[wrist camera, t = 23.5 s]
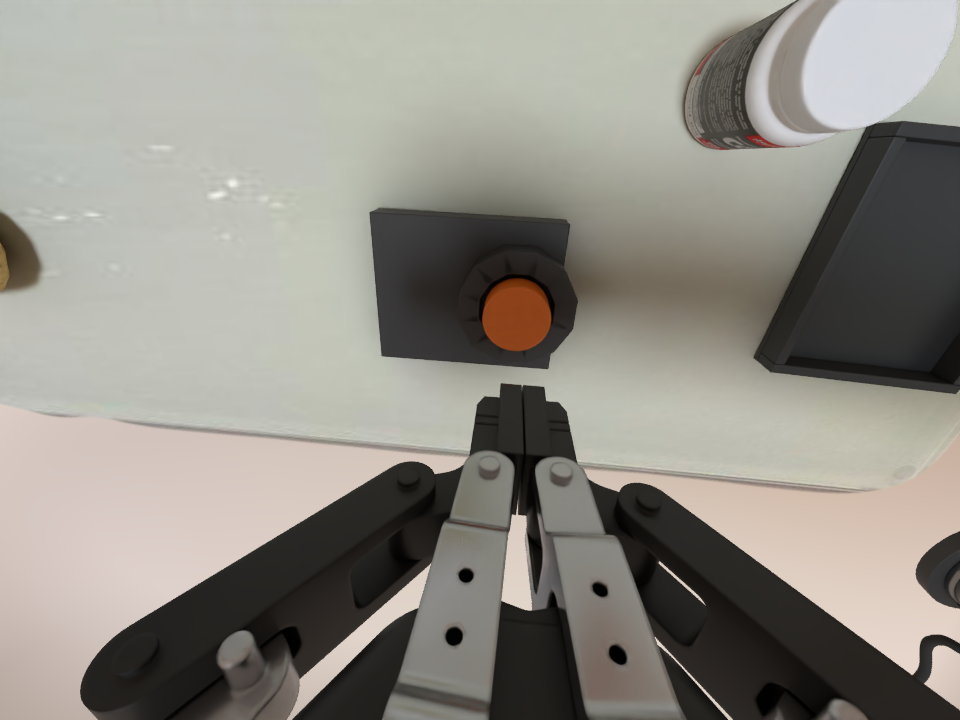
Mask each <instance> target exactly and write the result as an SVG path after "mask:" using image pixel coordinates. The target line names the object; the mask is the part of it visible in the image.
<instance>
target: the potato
mask: <svg viewBox="0 0 960 720" xmlns="http://www.w3.org/2000/svg"><path fill="white" fill-rule="evenodd" d="M9 276H10V274H9V270H8V265H7V261H6V251H5V250H4V248H3V246H2V245H1V243H0V291H2V290H3V289H4V288H5V286H6V284H7V281H8V279H9Z"/></svg>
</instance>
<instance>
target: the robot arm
mask: <svg viewBox="0 0 960 720" xmlns="http://www.w3.org/2000/svg"><path fill="white" fill-rule="evenodd" d="M517 502H518V515H525V516H527V528H526V535H525V546H526V554H527V563H528V572H529V581H530V590H531V599H532V611H527V610H523V609H520V608H518V607H515V606H513V605H510V604H507V603H505V602H502V601H501V598H502V588H503V578H504V569H505V559H506V549H507V540H508V533H509V530H510V525H511V517H512V514H513V515H516V510H517ZM659 561H660V562H661V563H663V564H664V565H665V566H666V567H667V568H668V569H669V570H671V571H672V572H673V573H674V574H675V575H676V576H677V577H678V578H679V579H681V580H682V581H683V582H684V583H685V584H686V585H687V586H689V587H690V588H691V589H692V590H693V591H694V592H695V593H696V594H698V595H699V597H700V598H701V599H702V600H703V602H704V603H705V605H706V606H705V605H704V604H703V603H702V602H701V601H700V600H698V598H696V597H695V596H694V595H693V594H692V593H691V592H690V591H688V590H687V589H686V588H685V587H684V586H683V585H682V584H681V583H680V582H678V581H677V580H676V579H675V578H674V577H673V576H672V575H671V574H670V573H668V572H667V571H666V570H665V569H664V568H663V567H662V566H660V564H658V563H659ZM431 562H432V563H431ZM430 563H431V566H430V570H429V573H428V577H427V580H426V584H425V588H424V591H423V594H422V598H421V601H420V605H419V608H417V609H415V610H413V611H410V612H408V613H406V614H404V615H403V616H401V617H399V618H398V619H396V620H395V621H394V622H392V623H391V624H389V625H388V626H387V627H386V628H385V629H383V630H382V631H381V632H380V633H379V634H378V635H377V636H376V637H375V638H374V639H373V640H372V641H371V642H370V643H369V644H368V645H367V646H366V647H365V648H364V649H363V650H362V651H361V652H360V653H359V654H358V655H357V656H356V657H355V658H354V659H353V660H352V661H351V662H350V663H349V664H348V665H347V666H346V667H345V668H344V669H343V670H342V671H341V672H340V673H339V674H338V675H337V676H336V677H335V678H334V679H333V680H332V681H331V682H330V683H329V684H328V685H327V686H326V687H325V688H324V689H323V690H322V691H320V693H318V694H317V695H316V696H315V697H314V698H313V700H311V701H310V702H309V703H308V704H307V705H306V706H305V708H303V709H302V710H301V711H300V712H299V714H297V715H296V716H295V717H294V718H293V719H292V720H728V719H727V718H726V717H725V716H724V714H723V713H722V712H721V711H720V710H719V709H718V708H717V707H716V705H715V704H714V703H713V702H712V701H711V700H710V699H709V698H708V697H707V695H706V694H705V693H704V692H703V691H702V690H701V689H700V688H699V686H698V685H697V684H696V683H695V682H694V681H693V680H692V679H691V678H690V677H689V676H688V674H687V673H686V672H685V671H684V670H683V669H682V667H681V666H679V664H678V663H677V662H676V661H675V660H674V659H673V658H672V657H671V656H669V654H668V653H666V652H665V651H664V650H663V649H662V648H661V647H659V646H658V645H657V642H656V639H655V637H656V638H657V639H658V640H659V642H660V643H661V644H662V645H663V646H665V648H666V649H667V650H668V651H669V652H670V653H671V654H672V655H673V656H674V657H675V658H676V660H677V661H678V662H679V663H680V664H681V665H682V666H683V667H684V668H685V669H686V670H687V671H688V672H689V673H690V674H691V675H692V676H693V678H694V679H695V680H696V681H697V682H698V683H699V684H700V685H701V686H702V687H703V688H704V689H705V690H706V691H707V692H708V693H709V694H710V696H712V698H713V699H714V700H715V701H716V702H717V703H718V704H719V705H720V706H721V707H722V708H723V709H724V710H725V711H726V712H727V713H728V715H729V716H730V717H731V718H732V719H733V720H960V711H959V709H957V708H956V707H954V706H953V705H952V704H950V703H949V702H948V701H946V700H945V699H944V698H942V697H941V696H940V695H938V694H937V693H935V692H934V691H933V690H931V689H930V688H929V687H927V686H926V685H925V684H924V683H925V682H926V681H927V680H928V678H929V676H930V674H931V669H932V651H933V649H934V647H936V646H938V645H944V646H947V647H949V648H951V649H953V650H954V651H956V652H957V653H959V654H960V644H959V643H958V642H956V641H954V640H952V639H951V638H949V637H946V636H943V635H930V636H926V637H924V638H923V639H922V641H921V644H920V663H919V667H918V669H917V671H916V672H915V673H914V674H913V675H911V674H910V673H908V672H907V671H906V670H904V669H903V668H901V667H900V666H899V665H897V664H896V663H895V662H893V661H892V660H891V659H889V658H888V657H886V656H885V655H884V654H882V653H881V652H880V651H878V650H877V649H876V648H874V647H873V646H872V645H870V644H869V643H867V642H866V641H865V640H863V639H862V638H861V637H859V636H858V635H857V634H855V633H854V632H853V631H851V630H850V629H848V628H847V627H846V626H844V625H843V624H842V623H840V622H839V621H838V620H836V619H835V618H834V617H832V616H831V615H829V614H828V613H827V612H825V611H824V610H823V609H821V608H820V607H819V606H817V605H816V604H815V603H813V602H812V601H810V600H809V599H808V598H806V597H805V596H804V595H802V594H801V593H800V592H798V591H797V590H796V589H794V588H792V587H791V586H790V585H789V584H787V583H786V582H785V581H783V580H782V579H780V578H779V577H778V576H776V575H775V574H774V573H772V572H771V571H770V570H768V569H767V568H766V567H764V566H763V565H762V564H760V563H759V562H757V561H756V560H755V559H753V558H752V557H751V556H749V555H748V554H747V553H745V552H744V551H743V550H741V549H740V548H738V547H737V546H736V545H734V544H733V543H732V542H730V541H729V540H728V539H726V538H725V537H724V536H722V535H721V534H719V533H718V532H717V531H715V530H714V529H712V528H711V527H710V526H709V525H707V524H706V523H705V522H703V521H702V520H700V519H699V518H698V517H696V516H695V515H694V514H692V513H691V512H689V511H688V510H687V509H685V508H684V507H683V506H681V505H680V504H679V503H677V502H676V501H675V500H673V499H672V498H670V497H669V496H668V495H666V494H665V493H664V492H662V491H661V490H659V489H657V488H655V487H653V486H651V485H647V484H643V483H630V484H627V485H625V486H623V487H622V488H621V490H620V492H617V491H614V490H611V489H608V488H605V487H602V486H600V485H598V484H595V483H594V482H592V481H590V480H589V479H588V478H587V476H586V473H585V471H584V470H583V468H582V467H581V466H580V465H578V464H577V460H576V455H575V450H574V445H573V440H572V436H571V432H570V426H569V421H568V416H567V412H566V411H565V409H564V408H563V407H562V406H561V405H560V403H559V402H548V401H546V397H545V389H544V387H539V386H527V385H523V387H522V386H521V385H513V384H501V386H500V398H498V397H486V396H485V397H484V398H483V399H482V400H481V401H480V402H479V403H478V404H477V410H476V416H475V424H474V430H473V436H472V443H471V449H470V455H469V457H468V458H467V459H466V461H465V463H464V465H462V466H461V467H460V468H458V469H456V470H453V471H450V472H446V473H440V474H434V472H433V470H432V469H431V468H430V467H428V466H427V465H425V464H423V463H419V462H404V463H400V464H397V465H395V466H393V467H391V468H389V469H388V470H386V471H385V472H383V473H381V474H380V475H378V476H376V477H375V478H373V479H371V480H370V481H368V482H366V483H365V484H363V485H361V486H360V487H358V488H356V489H355V490H353V491H351V492H350V493H348V494H347V495H345V496H343V497H342V498H340V499H338V500H337V501H335V502H333V503H332V504H330V505H328V506H327V507H325V508H323V509H322V510H320V511H319V512H317V513H315V514H314V515H312V516H310V517H309V518H307V519H305V520H304V521H302V522H300V523H299V524H297V525H295V526H294V527H292V528H290V529H289V530H287V531H286V532H284V533H282V534H280V535H279V536H277V537H276V538H274V539H272V540H271V541H269V542H267V543H266V544H264V545H262V546H261V547H259V548H257V549H256V550H254V551H252V552H251V553H249V554H248V555H246V556H244V557H243V558H241V559H239V560H238V561H236V562H234V563H233V564H231V565H229V566H228V567H226V568H224V569H223V570H221V571H219V572H218V573H216V574H215V575H213V576H211V577H209V578H208V579H206V580H205V581H203V582H201V583H200V584H198V585H197V586H195V587H193V588H191V589H190V590H188V591H186V592H185V593H183V594H182V595H180V596H178V597H176V598H175V599H173V600H172V601H170V602H168V603H167V604H165V605H164V606H162V607H160V608H158V609H157V610H155V611H154V612H152V613H150V614H148V615H147V616H145V617H144V618H142V619H140V620H139V621H137V622H135V623H134V624H132V625H130V626H129V627H127V628H126V629H124V630H123V631H121V632H120V633H119V634H117V635H116V636H115V637H114V638H113V639H111V640H110V641H109V642H108V643H107V644H106V645H105V646H104V647H103V648H102V649H101V651H100V652H99V653H98V654H97V655H96V657H95V658H94V659H93V660H92V662H91V664H90V665H89V667H88V668H87V670H86V672H85V675H84V677H83V680H82V683H81V689H80V694H81V700H82V701H83V704H84V705H85V706H86V707H87V708H88V709H89V710H90V711H91V712H92V714H93V715H94V716H95V717H96V718H97V719H98V720H287V718H288V716H289V715H290V713H291V711H292V710H293V707H294V705H295V703H296V700H297V697H298V693H299V686H300V685H299V679H300V678H301V677H302V676H304V674H306V673H307V672H308V671H309V670H310V669H312V668H313V667H314V666H315V665H316V664H317V663H318V662H319V661H320V660H322V659H323V658H324V657H325V656H326V655H327V654H328V653H330V652H331V651H332V650H333V649H334V648H335V647H337V646H338V645H339V644H340V643H341V642H342V641H343V640H345V639H346V638H347V637H348V636H349V635H350V634H351V633H352V632H354V631H355V630H356V629H357V628H358V627H359V626H360V625H362V624H363V623H364V622H365V621H366V620H367V619H368V618H369V617H371V616H372V615H373V614H374V613H375V612H376V611H377V610H379V609H380V608H381V607H382V606H383V605H384V604H385V603H387V602H388V601H389V600H390V599H391V598H392V597H393V596H394V595H396V594H397V593H398V592H399V591H400V590H401V589H402V588H404V587H405V586H406V585H407V584H408V583H409V582H410V581H412V580H413V579H414V578H415V577H416V576H417V575H418V574H419V573H421V572H422V571H423V570H424V569H425V568H426V567H427V566H429V565H430ZM944 587H945V590H946V591H947V593H948V594H949V595H950V596H951V597H952V598H953V599H954V600H955V601H956V602H957V605H958V606H959V607H960V562H959V563H958V564H956V565H955V566H954V567H953V568H952V569H951V570H950V571H949V573H948V574H947V576H946V578H945V581H944ZM654 636H655V637H654Z"/></svg>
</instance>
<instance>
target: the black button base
mask: <svg viewBox="0 0 960 720" xmlns="http://www.w3.org/2000/svg"><path fill="white" fill-rule="evenodd" d="M370 224H371V235H372V247H373V259H374V271H375V283H376V295H377V306H378V318H379V330H380V342H381V354H382V356H385V357H398V358H411V359H424V360H437V361H450V362H463V363H476V364H489V365H502V366H514V367H527V368H540V369H548V368H549V361H550V355H551V353H553V352H554V351H555V350H556V349H557V348H558V346H559V345H560V344H561V343H562V342H563V341H564V339H565V338H566V337H567V336H568V335H569V333H570V332H571V331H572V329H573V326H574V320H575V314H576V308H577V303H578V300H577V297H576V294H575V292H574V290H573V287H572V285H571V282H570V280H569V278H568V275H567V273H566V271H565V268H564V262H565V255H566V248H567V242H568V235H569V228H570V224H569V223H568V222H567V220H564V219H547V218H530V217H514V216H497V215H480V214H463V213H447V212H430V211H413V210H397V209H380V208H379V209H377V210H374V211H372V212H370ZM511 278H523V279H527V280H530V281H532V282H534V283H536V284H537V285H538V286H539V287H540V288H541V289H542V290H543V291H544V293H545V295H546V297H547V299H548V303H549V307H550V312H551V325H550V329H549V331H548V333H547V335H546V336H545V338H544V339H543V340H542V341H541V342H540V343H539V344H537V345H536V346H534V347H532V348H530V349H527V350H522V351H511V350H506V349H503V348H501V347H499V346H497V345H496V344H494V343H493V342H492V341H491V340H490V339H489V337H488V336H487V334H486V332H485V330H484V327H483V322H482V317H483V311H484V305H485V301H486V298H487V296H488V294H489V292H490V291H491V290H492V289H493V288H494V287H495V286H496V285H497V284H498V283H500V282H502V281H504V280H507V279H511Z"/></svg>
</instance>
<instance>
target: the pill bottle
mask: <svg viewBox="0 0 960 720" xmlns="http://www.w3.org/2000/svg"><path fill="white" fill-rule="evenodd" d="M956 22H957V0H796V1H795V2H793V3H791V4H789V5H788V6H786V7H784V8H782V9H781V10H779V11H777V12H775V13H773V14H772V15H770V16H768V17H766V18H764V19H763V20H761V21H759V22H757V23H755V24H754V25H752V26H750V27H748V28H746V29H745V30H743V31H741V32H739V33H737V34H735V35H733V36H731V37H729V38H728V39H726V40H725V41H723V42H722V43H720V44H719V45H718V46H716V47H715V48H714V49H713V50H712V51H711V52H710V53H709V54H708V55H707V56H706V57H705V58H704V60H703V61H702V62H701V63H700V65H699V66H698V68H697V69H696V71H695V73H694V75H693V77H692V79H691V82H690V84H689V88H688V91H687V96H686V102H685V116H686V122H687V125H688V128H689V130H690V131H691V133H692V135H693V136H694V137H695V138H696V139H697V140H698V141H699V142H700V143H702V144H703V145H705V146H707V147H710V148H714V149H720V150H730V149H754V148H781V147H800V146H805V145H809V144H813V143H816V142H820V141H822V140H825V139H827V138H829V137H831V136H833V135H835V134H837V133H839V132H841V131H848V130H855V129H860V128H864V127H867V126H870V125H873V124H875V123H878V122H880V121H882V120H884V119H886V118H887V117H889V116H891V115H892V114H894V113H896V112H897V111H899V110H900V109H901V108H902V107H904V106H905V105H906V104H908V103H909V102H910V101H911V100H912V99H913V98H914V97H915V96H916V95H917V94H918V93H919V92H920V91H921V90H922V89H923V88H924V87H925V86H926V85H927V83H928V82H929V81H930V79H931V78H932V77H933V76H934V74H935V73H936V71H937V70H938V68H939V67H940V65H941V63H942V61H943V60H944V58H945V56H946V54H947V52H948V49H949V47H950V44H951V41H952V38H953V36H954V32H955V28H956Z"/></svg>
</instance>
